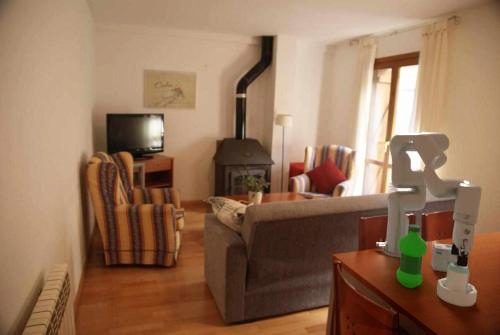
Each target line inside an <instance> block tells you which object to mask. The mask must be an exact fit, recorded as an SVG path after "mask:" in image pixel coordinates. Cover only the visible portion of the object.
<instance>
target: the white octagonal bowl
mask: <svg viewBox="0 0 500 335" xmlns="http://www.w3.org/2000/svg"><path fill="white" fill-rule="evenodd" d="M446 278H447V277H444V278H441V279H439V278H438V280H437V284H436V286H437V287H436V295H437V297H438V298H440V299H441V300H442V301H444V302H446V303H448V304H451V305H454V306H458V307H464V308H465V307H473V306H474V305H475V304H476V301H477V297H478V291H477V289H476V288H475V286H474V285H473V284H471V283H469V282H468V288H467V293H462V292H456V291H452V290H450V289H448V288H446V287H445V286H446Z"/></svg>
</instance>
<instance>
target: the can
mask: <svg viewBox="0 0 500 335" xmlns="http://www.w3.org/2000/svg"><path fill="white" fill-rule="evenodd" d="M445 278H446V286H445V287H446V288H448V289H450V290H452V291H456V292H462V293H467V288H468V283H469V278H470V270H469V266H468V265H467V267H463V266H457V262H451V263H450V265H449V266H448V269H447V272H446V277H445Z"/></svg>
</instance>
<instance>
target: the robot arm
mask: <svg viewBox="0 0 500 335" xmlns="http://www.w3.org/2000/svg"><path fill="white" fill-rule="evenodd" d="M449 147H450V139H449V137H448V136H447V135H446V134H444V133H443V132H419V133H412V132H409V133H407V132H406V133H405V132H403V133H397V134H395V135H394V136H392V138H391V139H390V142H389V152H390V156H391V179H390V180H391V185H392V187H394V188H395V189H411V190H398V191H397V190H396V191H392V192H390V193H389V194H388V196H387V200H386V201H387V202H386V203H387V208H388V209H387V210H388V212H387V227H386V240H385V241H384V242H378V241H376V243H375V244H376V245H375V246H376V247H378V248H382V249H381V251H382V253H383V254H384V255H387V256H389V257H392V258H398V259H399V258H401V252H400V250H399V245H398V243H399V240H400V238H402V237H403V236H405V235H407V234H409V230H408V226H409V225H410V219H409V216H408V215H407V214H406V212H407V211H409V212H410V211H422V210H424V208H425V206H426V204H427V203H426V201H427V190H428V191H429V193H430V194H431V196H432V197H434V198H436V199H454V200H455V201H454V207H453V215H452V220H453V221H454V225H453V231H452V238H451V239H452V241H451V243H452V244H451V245H452V249H451V254H452V255H458V258H457V266H463V267H467V266H468V263H469V262H468V261H469V256H470V251H473V249H474V239H475V225H476V224H477V223H478V222H477V221H478V217H479V210H480V204H481V198H482V193H483V192H482V191H483V189H482V187H481V186H480V185H478V184H475V183H471V182H470V181H468V180H466V179H463V178H440V177H439V176H438V174H437V173H436V170H438V169H440V168H441V167H443V166H445V164H446V163H447V161H448V156H447V155H446V153H445V152H446V151H447V150H448V149H449ZM408 152H417V153H418V156H419V157H420V159H421V160H422V162H423V163H424V165H425V166H424V168H423V170H422V169H418V168H412V166H411V165H412V160H411V157H410V155H409V153H408ZM461 250H462V252H461Z"/></svg>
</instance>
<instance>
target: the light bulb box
mask: <svg viewBox="0 0 500 335" xmlns="http://www.w3.org/2000/svg"><path fill="white" fill-rule="evenodd" d="M451 249H452V244H447V243H446V244H444V243H435V242H433V243H432V254H431V263H430V265H431V267H432V271H438V272H445V273H447V269H448V266H449V265H450V263H451V262H457V258H458V255H452V254H451ZM462 251H463V250H461V252H462Z"/></svg>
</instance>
